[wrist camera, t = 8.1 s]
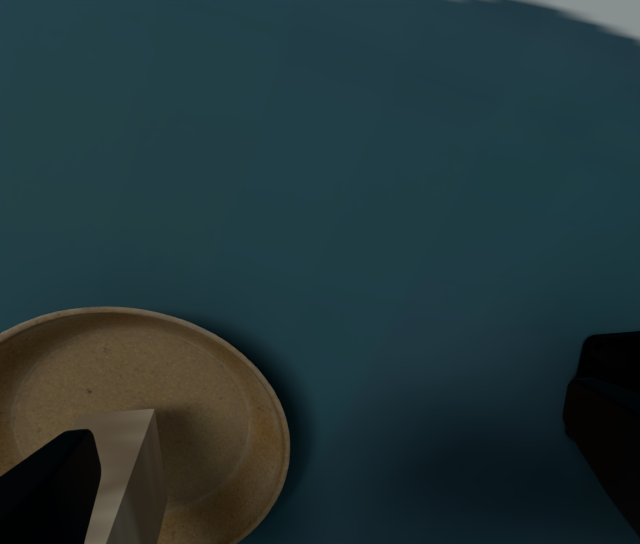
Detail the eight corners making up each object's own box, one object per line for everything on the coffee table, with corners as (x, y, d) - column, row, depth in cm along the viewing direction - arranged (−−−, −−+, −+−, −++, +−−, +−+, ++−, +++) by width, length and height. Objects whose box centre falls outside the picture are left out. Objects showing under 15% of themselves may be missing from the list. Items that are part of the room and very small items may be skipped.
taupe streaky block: (154, 408, 19) (83, 605, 11) (167, 499, 20) (114, 723, 13) (79, 414, 18) (-46, 622, 11) (99, 506, 20) (2, 741, 12)
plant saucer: (223, 559, 25) (219, 606, 23) (-60, 497, 22) (-101, 546, 19) (335, 348, 22) (344, 377, 19) (17, 231, 18) (-21, 249, 16)
